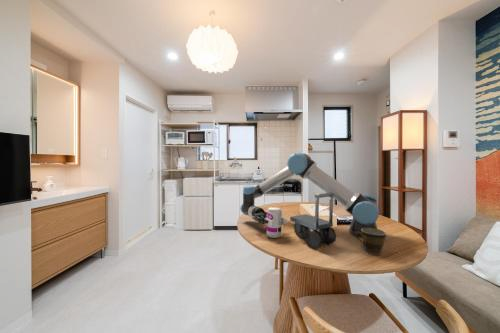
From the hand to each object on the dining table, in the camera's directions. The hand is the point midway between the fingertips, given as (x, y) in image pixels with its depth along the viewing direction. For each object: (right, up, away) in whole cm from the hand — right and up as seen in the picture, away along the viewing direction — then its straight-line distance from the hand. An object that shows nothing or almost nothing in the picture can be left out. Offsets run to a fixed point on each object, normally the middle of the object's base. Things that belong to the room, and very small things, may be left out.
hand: (279, 222), depth 114 cm
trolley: (+16, -9, -2) cm, 18 cm away
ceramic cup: (+40, -10, -14) cm, 44 cm away
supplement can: (-2, -9, +4) cm, 10 cm away
